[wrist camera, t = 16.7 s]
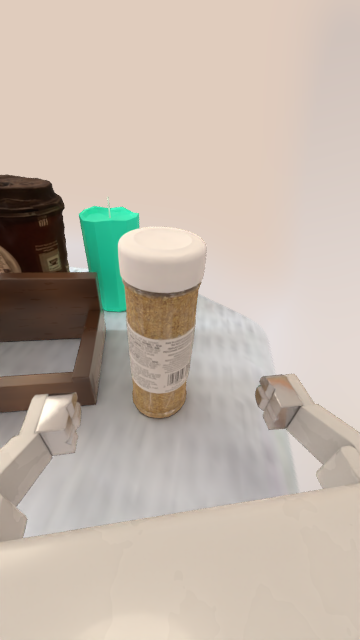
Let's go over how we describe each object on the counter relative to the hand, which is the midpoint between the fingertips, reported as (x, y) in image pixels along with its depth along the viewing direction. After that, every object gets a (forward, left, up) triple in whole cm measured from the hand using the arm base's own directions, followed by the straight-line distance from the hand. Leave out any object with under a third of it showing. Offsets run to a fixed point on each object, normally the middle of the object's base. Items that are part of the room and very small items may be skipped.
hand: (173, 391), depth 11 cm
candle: (-4, +21, -9) cm, 23 cm away
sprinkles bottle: (0, +6, -9) cm, 11 cm away
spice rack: (-12, +10, -9) cm, 18 cm away
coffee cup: (-13, +21, -9) cm, 27 cm away
